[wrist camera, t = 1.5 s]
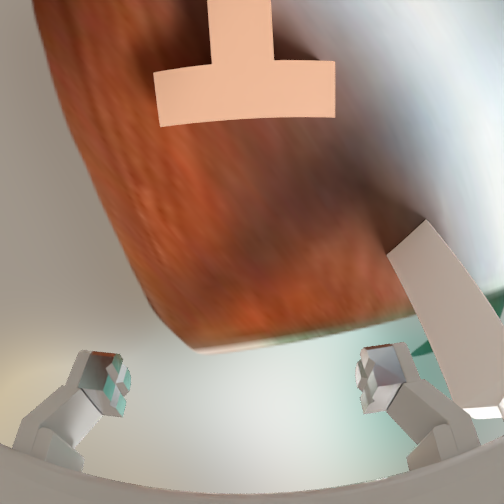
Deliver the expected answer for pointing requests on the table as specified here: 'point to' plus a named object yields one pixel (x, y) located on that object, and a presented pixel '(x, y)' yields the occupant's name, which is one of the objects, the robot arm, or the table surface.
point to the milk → (454, 321)
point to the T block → (244, 74)
